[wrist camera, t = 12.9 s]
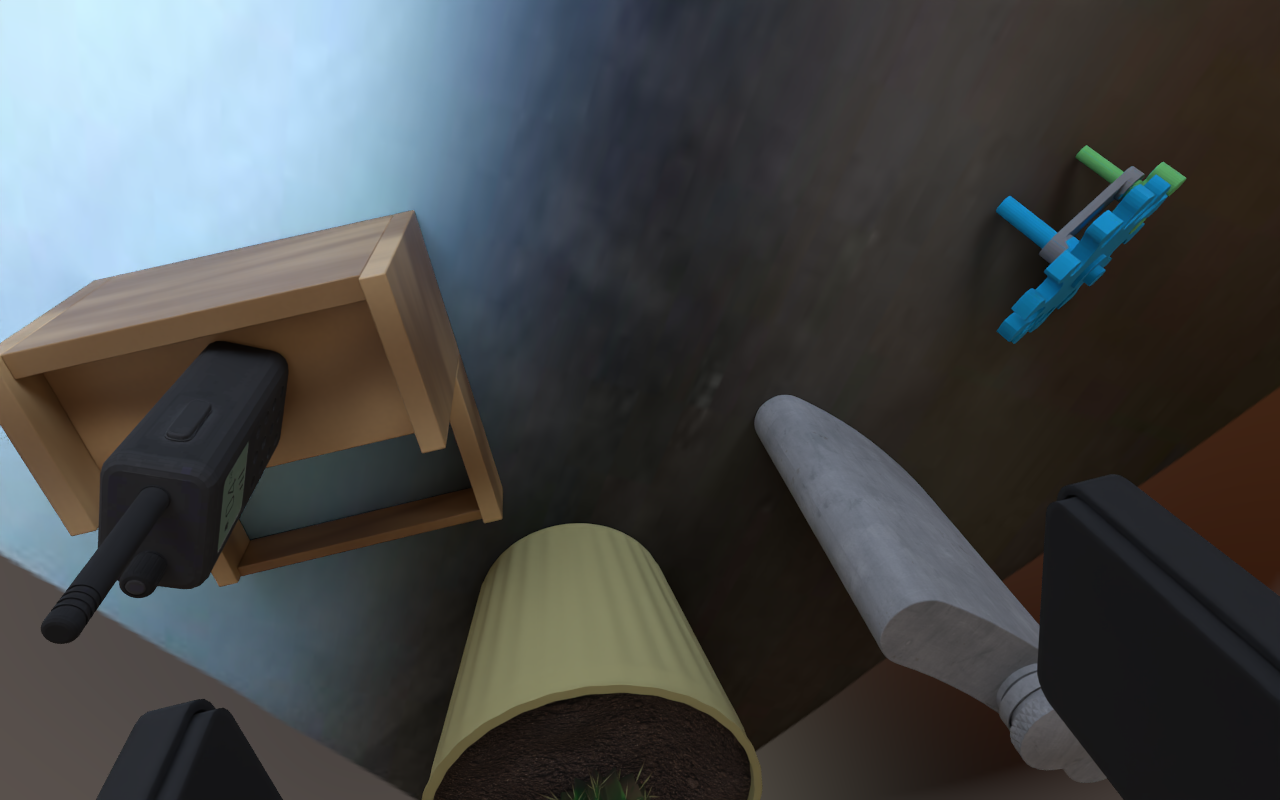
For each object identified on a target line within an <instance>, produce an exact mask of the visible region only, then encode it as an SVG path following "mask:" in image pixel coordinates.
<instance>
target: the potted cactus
mask: <svg viewBox="0 0 1280 800" xmlns="http://www.w3.org/2000/svg"><path fill="white" fill-rule="evenodd" d="M761 778H762V777H761V766H760V763H759V761H758V758H757V756H756V753H755V750H754V748H753V745H752V744H751V742H750V741H749V739H748V738H747V736H746V734H745V731H744V728H743V726H742V724H741V722H740V720H739V718H738V716H737V714H736V712H735V710H734V708H733V707H732V705H731V703H730V701H729V699H728V697H727V695H726V693H725V692H724V690H723V688H722V686H721V684H720V682H719V680H718V678H717V676H716V675H715V673H714V671H713V669H712V667H711V665H710V663H709V661H708V659H707V657H706V655H705V654H704V652H703V650H702V648H701V646H700V644H699V642H698V640H697V638H696V636H695V634H694V632H693V631H692V629H691V627H690V625H689V623H688V621H687V619H686V617H685V615H684V613H683V611H682V609H681V608H680V606H679V604H678V602H677V600H676V598H675V596H674V594H673V592H672V590H671V588H670V586H669V585H668V583H667V581H666V579H665V577H664V575H663V573H662V571H661V569H660V567H659V565H658V564H657V563H656V562H655V560H654V559H653V557H652V556H651V554H650V553H649V552H648V551H647V550H646V549H645V548H644V547H643V546H642V545H641V544H640V543H639V542H637V541H636V540H635V539H633V538H631V537H630V536H628V535H626V534H624V533H622V532H620V531H618V530H615V529H612V528H609V527H605V526H601V525H595V524H586V523H575V524H563V525H557V526H552V527H548V528H545V529H542V530H539V531H537V532H534V533H532V534H529V535H528V536H526V537H524V538H522V539H520V540H519V541H517V542H516V543H514V544H513V545H511V546H510V547H509V548H508V549H507V550H505V551H504V552H503V553H502V554H501V555H500V556H499V557H498V559H497V560H496V561H495V562H494V564H493V565H492V566H491V568H490V570H489V571H488V573H487V575H486V577H485V580H484V582H483V583H482V586H481V590H480V593H479V597H478V601H477V604H476V608H475V612H474V616H473V619H472V623H471V627H470V631H469V634H468V638H467V642H466V645H465V649H464V653H463V657H462V660H461V664H460V668H459V671H458V675H457V679H456V682H455V686H454V690H453V694H452V697H451V701H450V705H449V708H448V712H447V716H446V719H445V723H444V727H443V730H442V734H441V737H440V741H439V744H438V748H437V752H436V755H435V759H434V762H433V766H432V770H431V776H430V779H429V782H428V783H427V785H426V787H425V789H424V792H423V796H422V800H760V798H761V794H762V779H761Z"/></svg>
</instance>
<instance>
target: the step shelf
mask: <svg viewBox="0 0 1280 800" xmlns="http://www.w3.org/2000/svg"><path fill="white" fill-rule="evenodd" d="M215 341H227V342H232V343H237V344H242V345H247V346H252V347H257V348H262V349H267V350H272V351H275V352H278V353H280V354H281V355H282V356H283V357H284V358H285V359H286V361H287V363H288V370H289V374H288V382H287V390H286V397H285V405H284V413H283V421H282V429H281V437H280V440H279V443H278V445H277V447H276V449H275V451H274V453H273V455H272V457H271V459H270V461H269V463H268V464H267V466H266V468H268V467H272V466H276V465H280V464H285V463H289V462H293V461H298V460H302V459H306V458H310V457H315V456H319V455H323V454H327V453H332V452H336V451H340V450H345V449H349V448H353V447H357V446H362V445H366V444H370V443H374V442H379V441H383V440H387V439H392V438H396V437H400V436H404V435H409V434H413V433H415V436H416V438H417V441H418V444H419V447H420V449H421V452H422V453H427V452H431V451H435V450H439V449H444V448H446V442H447V435H448V428H449V421H450V424H451V427H452V430H453V433H454V436H455V439H456V442H457V445H458V448H459V451H460V453H461V456H462V459H463V462H464V465H465V468H466V471H467V474H468V477H469V480H470V483H471V486H472V488H468V489H464V490H460V491H456V492H451V493H447V494H443V495H439V496H435V497H430V498H426V499H422V500H418V501H414V502H409V503H405V504H401V505H397V506H392V507H388V508H384V509H380V510H376V511H371V512H367V513H363V514H359V515H355V516H350V517H346V518H342V519H338V520H334V521H329V522H325V523H321V524H317V525H313V526H308V527H304V528H300V529H296V530H292V531H287V532H283V533H279V534H275V535H271V536H266V537H262V538H258V539H254V540H251V541H250V540H249V538H248V536H247V534H246V532H245V530H244V528H243V526H242V524H241V522H240V520H238V522H237V523H236V525H235V527H234V529H233V531H232V533H231V535H230V537H229V539H228V541H227V542H226V544H225V546H224V548H223V550H222V552H221V554H220V556H219V558H218V560H217V562H216V563H215V565H214V567H213V569H212V571H211V573H212V574H213V576H214V578H215V580H216V582H217V584H218V585H219V587H222V586H226V585H230V584H234V583H238V581H239V579H240V577H241V576H245V575H249V574H253V573H257V572H262V571H266V570H270V569H274V568H278V567H282V566H287V565H291V564H295V563H299V562H303V561H307V560H312V559H316V558H320V557H324V556H328V555H332V554H337V553H341V552H345V551H349V550H353V549H357V548H362V547H366V546H370V545H374V544H378V543H382V542H387V541H391V540H395V539H399V538H403V537H407V536H412V535H416V534H420V533H424V532H428V531H432V530H437V529H441V528H445V527H449V526H453V525H457V524H462V523H466V522H470V521H474V520H478V519H482V518H483V521H484V523H488V522H492V521H497V520H501V519H502V514H503V488H502V485H501V482H500V478H499V475H498V472H497V469H496V466H495V463H494V460H493V456H492V453H491V450H490V447H489V444H488V441H487V437H486V434H485V431H484V428H483V425H482V422H481V419H480V415H479V412H478V409H477V406H476V403H475V400H474V397H473V393H472V390H471V387H470V384H469V381H468V378H467V375H466V371H465V368H464V365H463V362H462V359H461V356H460V354H459V350H458V346H457V343H456V340H455V337H454V334H453V331H452V328H451V324H450V321H449V318H448V315H447V312H446V309H445V306H444V302H443V299H442V296H441V293H440V290H439V287H438V284H437V280H436V277H435V274H434V271H433V268H432V265H431V262H430V258H429V255H428V252H427V249H426V246H425V243H424V240H423V236H422V233H421V230H420V227H419V224H418V221H417V218H416V214H415V211H413V210H412V211H407V212H403V213H398V214H394V215H389V216H384V217H380V218H375V219H371V220H366V221H361V222H357V223H352V224H348V225H343V226H339V227H334V228H330V229H325V230H321V231H316V232H312V233H307V234H303V235H298V236H294V237H289V238H285V239H280V240H276V241H271V242H267V243H262V244H257V245H253V246H248V247H244V248H239V249H235V250H230V251H226V252H221V253H217V254H212V255H208V256H203V257H199V258H194V259H190V260H185V261H181V262H176V263H172V264H167V265H162V266H158V267H153V268H149V269H144V270H140V271H135V272H131V273H126V274H122V275H117V276H113V277H108V278H104V279H99V280H95V281H93V282H91V283H90V284H88V285H87V286H85V287H84V288H82V289H81V290H79V291H78V292H76V293H75V294H73V295H72V296H70V297H69V298H67V299H66V300H64V301H63V302H61V303H60V304H58V305H57V306H55V307H54V308H52V309H51V310H49V311H48V312H46V313H45V314H43V315H42V316H40V317H39V318H37V319H36V320H34V321H33V322H31V323H30V324H28V325H27V326H25V327H24V328H22V329H21V330H19V331H18V332H16V333H15V334H13V335H12V336H10V337H9V338H7V339H6V340H4V341H3V342H1V343H0V425H1V427H2V428H3V430H4V431H5V433H6V434H7V436H8V438H9V439H10V441H11V442H12V444H13V445H14V447H15V449H16V450H17V452H18V453H19V455H20V456H21V458H22V460H23V461H24V463H25V464H26V466H27V467H28V469H29V471H30V472H31V474H32V475H33V477H34V478H35V480H36V481H37V483H38V485H39V486H40V488H41V489H42V491H43V492H44V494H45V496H46V497H47V499H48V500H49V502H50V503H51V505H52V507H53V508H54V510H55V511H56V513H57V514H58V516H59V518H60V519H61V521H62V522H63V524H64V525H65V527H66V529H67V530H68V532H69V533H70V535H71V536H75V535H79V534H83V533H88V532H92V531H96V530H97V529H98V527H99V496H100V473H101V469H102V466H103V463H104V462H105V461H106V460H107V458H108V457H109V456H110V455H111V454H112V453H113V452H114V451H115V449H116V448H117V447H118V446H119V445H120V444H121V443H122V442H123V440H124V439H125V438H126V437H127V436H128V435H129V434H130V433H131V431H132V430H133V429H134V428H135V427H136V426H137V425H138V423H139V422H140V421H141V420H142V419H143V418H144V417H145V416H146V414H147V413H148V412H149V411H150V410H151V409H152V408H153V407H154V405H155V404H156V403H157V402H158V401H159V400H160V399H161V397H162V396H163V395H164V394H165V393H166V392H167V391H168V390H169V388H170V387H171V386H172V385H173V384H174V383H175V382H176V381H177V379H178V378H179V377H180V376H181V375H182V374H183V373H184V371H185V370H186V369H187V368H188V367H189V366H190V365H191V364H192V362H193V361H194V360H195V359H196V358H197V357H198V356H199V355H200V353H201V352H202V351H203V350H204V349H205V348H206V347H207V346H208V345H209V344H210V343H213V342H215Z"/></svg>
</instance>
